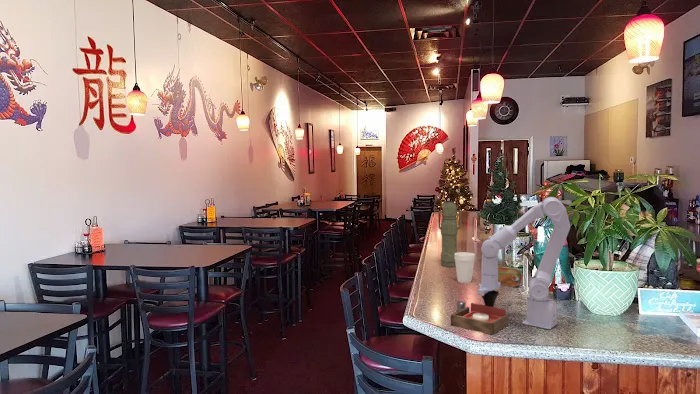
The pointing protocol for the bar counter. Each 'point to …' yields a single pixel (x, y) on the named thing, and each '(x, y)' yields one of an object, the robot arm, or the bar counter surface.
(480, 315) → the white dome
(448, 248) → the thermos
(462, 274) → the foam cup
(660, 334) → the bar counter surface
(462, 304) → the cylinder
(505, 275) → the tin
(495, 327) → the cabinet
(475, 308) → the drawer
